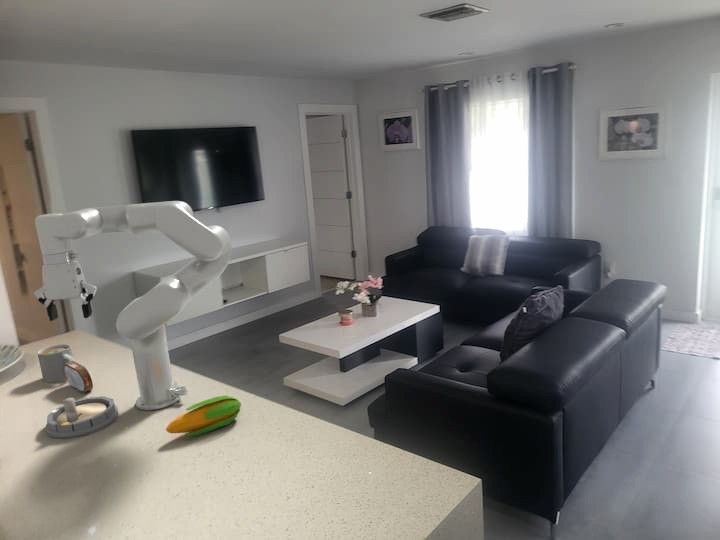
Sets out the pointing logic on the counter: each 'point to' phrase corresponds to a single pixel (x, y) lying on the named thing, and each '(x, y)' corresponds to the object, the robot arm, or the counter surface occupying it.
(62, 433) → the dial housing
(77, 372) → the tin
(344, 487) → the counter surface
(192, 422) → the corn
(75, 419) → the dial
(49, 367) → the coffee mug
